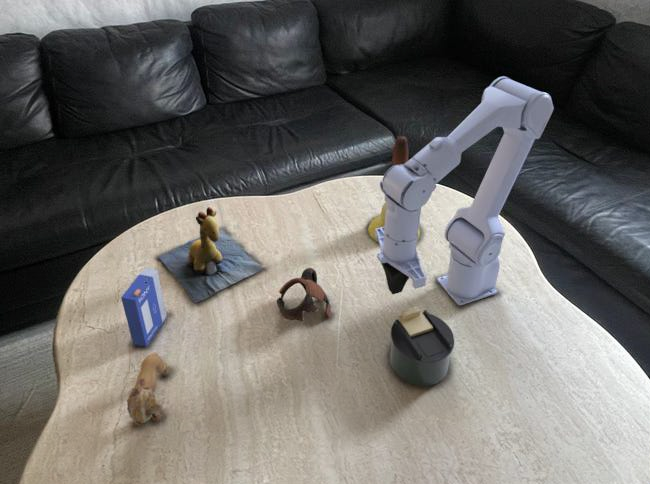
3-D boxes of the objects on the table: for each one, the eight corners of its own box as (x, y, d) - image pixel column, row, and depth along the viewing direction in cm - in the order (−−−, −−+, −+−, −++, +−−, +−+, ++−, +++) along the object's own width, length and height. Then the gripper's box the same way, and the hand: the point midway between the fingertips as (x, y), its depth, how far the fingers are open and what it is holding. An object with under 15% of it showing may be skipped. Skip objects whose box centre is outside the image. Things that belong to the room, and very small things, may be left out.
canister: (377, 347, 93) (380, 317, 89) (428, 330, 96) (432, 300, 92) (407, 396, 84) (411, 366, 80) (462, 375, 88) (468, 345, 84)
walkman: (146, 347, 93) (134, 298, 87) (133, 344, 93) (120, 295, 88) (168, 314, 100) (158, 267, 94) (155, 312, 100) (144, 265, 94)
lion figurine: (168, 440, 78) (159, 403, 73) (131, 448, 77) (120, 411, 72) (170, 361, 90) (162, 324, 86) (138, 366, 89) (129, 330, 85)
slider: (396, 319, 90) (397, 311, 89) (419, 311, 91) (420, 304, 91) (409, 337, 86) (410, 330, 86) (433, 329, 88) (434, 322, 87)
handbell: (371, 212, 129) (376, 122, 116) (421, 218, 126) (431, 127, 114) (365, 243, 118) (370, 148, 106) (419, 250, 116) (430, 154, 104)
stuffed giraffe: (195, 303, 102) (186, 237, 95) (158, 258, 114) (148, 197, 107) (263, 271, 111) (260, 208, 104) (222, 232, 123) (216, 174, 116)
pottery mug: (333, 332, 96) (312, 311, 91) (290, 340, 100) (268, 320, 95) (336, 276, 105) (317, 254, 100) (296, 285, 108) (276, 265, 104)
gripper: (361, 213, 92) (358, 270, 98) (402, 264, 80) (395, 325, 87) (396, 204, 94) (391, 261, 101) (440, 253, 82) (431, 313, 89)
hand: (395, 290), depth 94 cm, fingers closed
